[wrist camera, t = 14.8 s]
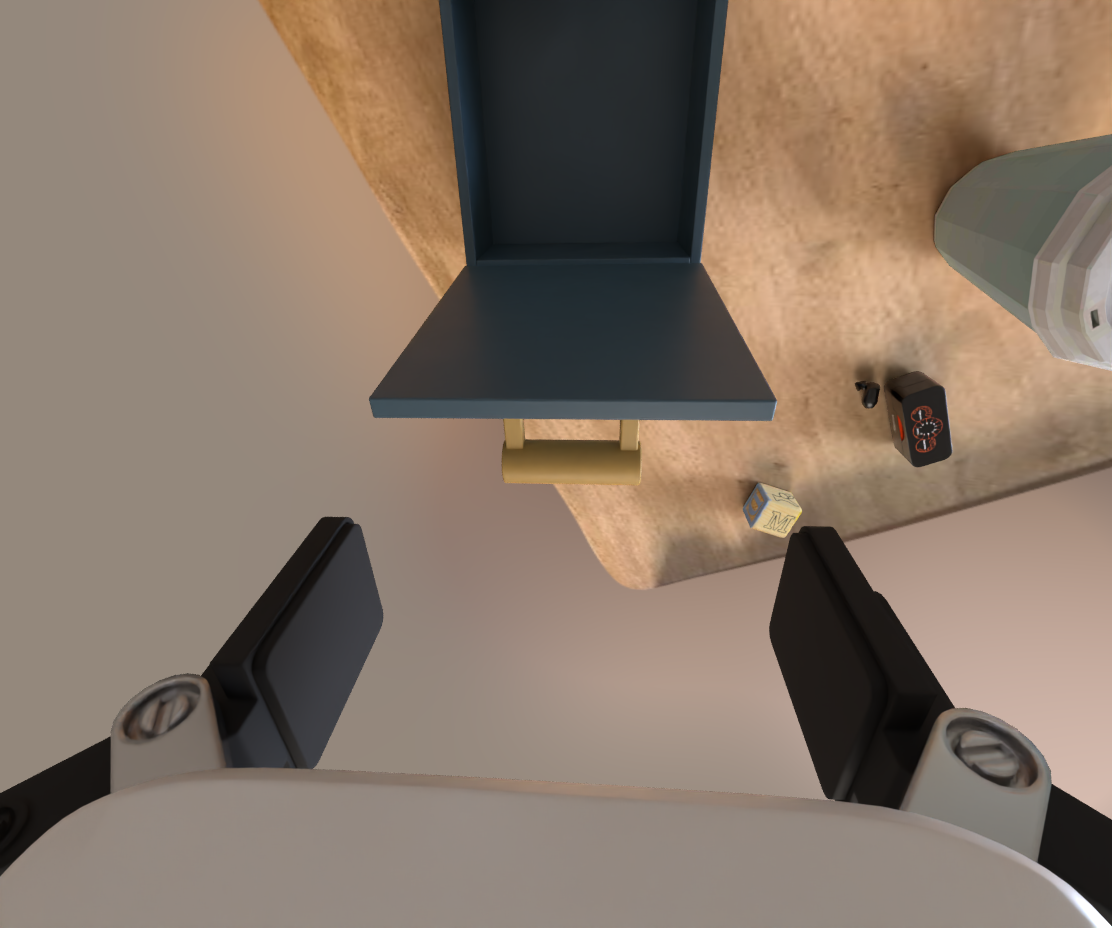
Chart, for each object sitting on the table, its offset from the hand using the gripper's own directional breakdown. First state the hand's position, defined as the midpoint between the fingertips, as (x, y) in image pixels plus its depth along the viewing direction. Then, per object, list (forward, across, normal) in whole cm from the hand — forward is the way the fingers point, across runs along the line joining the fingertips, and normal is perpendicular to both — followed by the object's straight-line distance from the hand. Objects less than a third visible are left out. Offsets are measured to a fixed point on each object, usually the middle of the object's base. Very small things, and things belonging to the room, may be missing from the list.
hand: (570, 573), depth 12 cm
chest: (+30, 0, -10) cm, 32 cm away
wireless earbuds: (+31, -23, +9) cm, 40 cm away
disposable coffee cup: (+31, -25, -4) cm, 40 cm away
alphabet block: (+31, -15, +18) cm, 39 cm away
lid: (+15, 0, -2) cm, 15 cm away
